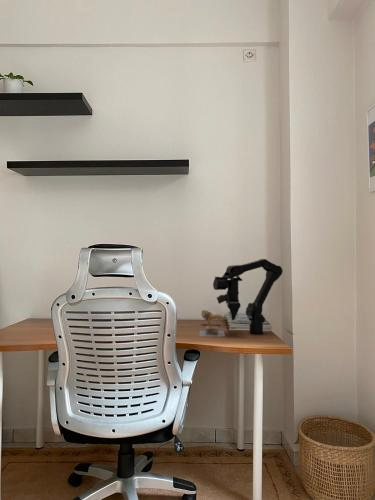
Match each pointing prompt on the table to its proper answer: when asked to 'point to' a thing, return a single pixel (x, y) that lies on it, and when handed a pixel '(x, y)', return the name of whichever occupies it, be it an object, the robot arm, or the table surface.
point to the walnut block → (212, 330)
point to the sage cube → (231, 318)
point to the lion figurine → (212, 317)
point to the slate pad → (220, 333)
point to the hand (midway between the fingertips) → (232, 319)
